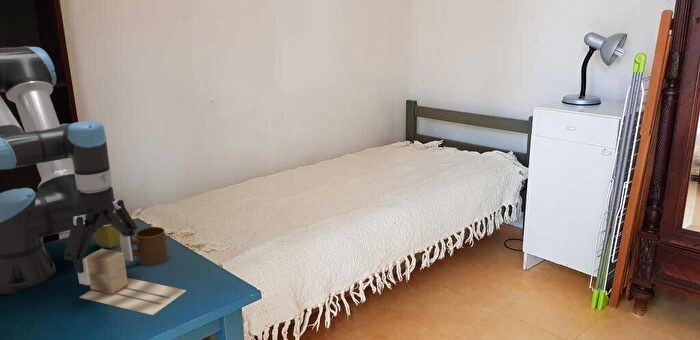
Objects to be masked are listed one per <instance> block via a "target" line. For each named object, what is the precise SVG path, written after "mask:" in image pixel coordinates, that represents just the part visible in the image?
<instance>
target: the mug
mask: <svg viewBox="0 0 700 340" xmlns="http://www.w3.org/2000/svg"><path fill="white" fill-rule="evenodd" d="M132 245H134V246H135V245H136V249H132V256H133V257H136V258H138V263H139V265H142V266H147V267H148V266H156V265H160V264H163V263H164V262H166V261H167V260H168V258H169V257H168V247H167V236H166V232H165V229H164V228H163V227H161V226H160V227H159V226H150V227H144V228H141V229H139V230H138V231H136V233H135V238H132Z"/></svg>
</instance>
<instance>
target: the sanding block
mask: <svg viewBox="0 0 700 340" xmlns="http://www.w3.org/2000/svg"><path fill="white" fill-rule="evenodd" d="M85 258H87V263H88V270H89V276H90V282H91V284H90V285H89V289H90V290H89V291H95V292H100V293H104V294H108V295H115V294H116V293H118V292H119V291H121V290H123V289H124V288H126V287H127V286H128V282H127V278H128V277H127V276H128V275H127V270H126V269H127V268H126V260H124V253H122V252H121V251H116V250H112V249H111V250H109V249H105V248H99V249H98V250H96V251H94V252H92V253H90V254H88V255H86V256H85Z"/></svg>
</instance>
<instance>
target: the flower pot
mask: <svg viewBox="0 0 700 340" xmlns="http://www.w3.org/2000/svg"><path fill="white" fill-rule="evenodd" d="M113 214H114V215H115V216H116V217H117V218H118V220H120V221H121V219H120V218H119V216H118V215H117V213H116V212H115V210H114V211H113ZM121 222H122V221H121ZM122 223H123V222H122ZM88 227H90V226H88ZM90 228H91V227H90ZM120 235H123V234H122V233H120V232H119V231H118V230H117V229H116V228H114V227H113V226H112V225H111V224H110V223H109V224H107V225H103V226H102V227H100V228H97V231H96V232H95V233H94V234H93V236H92V238H93V241H95V243H96V244H97V245H98V246H99V247H100V248H101V249H105V248H107V249H113V248H114V247H115V248H116V247H117V248H121V245H120V237H119V236H120Z"/></svg>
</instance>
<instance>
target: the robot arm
mask: <svg viewBox="0 0 700 340" xmlns="http://www.w3.org/2000/svg"><path fill="white" fill-rule="evenodd" d="M55 70H56V69H55V65H54V64H53V60H52V59H51V57H50V56H49V54H48V52H46V50H44V49H43V48H41V47H37V46H26V45H25V46H19V47H0V93H1V92H4V93H5V96H6V98H7V100H9V101H10V102H12V103H15V105H16V109H17V112H18V115H19V118H20V122H21V123H22V126H21V125H20V123H19V122H18V121H17V118H16V117H15V116H14V115H13V112H12V111H11V110H10V108H9V106H8V105H7V103H5V100H4V99H3V98H2V96H1V95H0V171H1V170H12V169H15V168H20V167H27V166H30V165H36V167H37V170H38V173H39V176H40V178H41V181H40V182H39V184H38V186H37V191H38V192H35V191H34V190H33V189H32V188H29V187H22V188H13V189H9V190H6V191H2V192H0V295H12V294H15V293H17V292H19V291H21V290H23V289H26V288H30V287H34V286H37V285H38V284H41V283H43V282H45V281H47V280H49V279H50V278H51V277H53V275H54V274H55V273H56V272H57V270H56V269H57V268H56V265H55V262H54V261H53V260H52V258H51V256H50V255H49V253H48V252H47V250H46V248H45V245H44V240H43V239H44V237H48V236H51V235H52V236H53V235H57V234H60V233H64V232H67V231H69V234H68V238H67V242H66V247H65V251H64V256H63V259H64V260H67V261H73V266H74V267H73V268H74V271H75V273H76V274H77V278H78V283H79V284H81V285H85V286H90V284H91V282H90V276H89V270H88V263H87V258H86V257H85V255H86V253H87V250H88V248H89V245H90V243H91V240H92V238H93V234H94V233H95V232H96V231H97V228H100V227H102V226H103V225H107V224H109V223H110V224H111V225H112V226H113V227H114V228H116V229H117V230H118V231H119V232H120V233H122V234H123V235H120V236H119V237H120V245H121V247H120V252H122V253H124V260H125V261H127V262H132V261H134V256H132V250H133V249H132V247H133V244H132V239H133V236H135V235H136V233H135V231H137V230H138V226H137V224H136V223H135V221H134V220H133V218H132V216H131V215H130V213H129V212H128V210H127V209H126V205H125V202H124V199H117V198H115V196H114V188H113V186H111V185H112V184H113V181H112V180H113V179H112V176H111V174H112V173H111V168H110V160H109V152H108V144H107V135H106V130H105V128H104V127H105V126H104V124H103V123H102V122H100V121H97V120H95V121H94V120H84V121H83V120H82V121H78V122H73V123H62V124H60V121H59V119H58V116H57V112H56V110H55V108H54V104H53V102H52V100H51V96H50V95H51V94H52V93H53V91H54V87H55V85H56V83H57V74H56V72H55ZM22 127H23V128H22ZM23 129H24V130H23ZM113 211H115V212H116V213H117V215H118V216H119V218H120V219H121V221H122V222H123V223H122V222H121V221H120V220H118V218H117V217H116V216H115V215H114V214H113ZM89 226H90V227H91V228H90V227H89Z"/></svg>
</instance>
